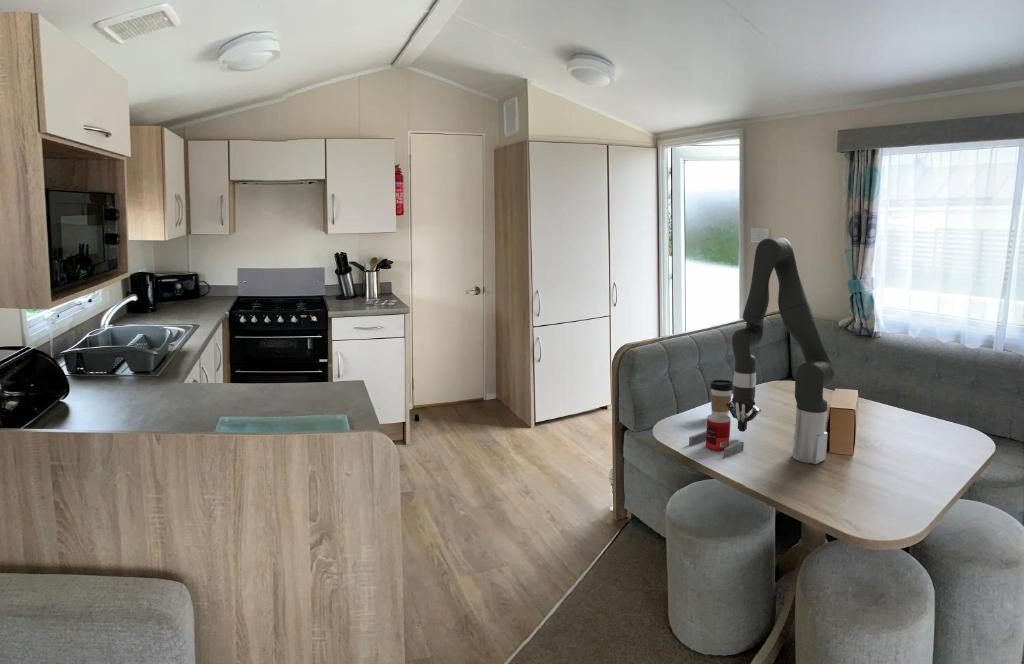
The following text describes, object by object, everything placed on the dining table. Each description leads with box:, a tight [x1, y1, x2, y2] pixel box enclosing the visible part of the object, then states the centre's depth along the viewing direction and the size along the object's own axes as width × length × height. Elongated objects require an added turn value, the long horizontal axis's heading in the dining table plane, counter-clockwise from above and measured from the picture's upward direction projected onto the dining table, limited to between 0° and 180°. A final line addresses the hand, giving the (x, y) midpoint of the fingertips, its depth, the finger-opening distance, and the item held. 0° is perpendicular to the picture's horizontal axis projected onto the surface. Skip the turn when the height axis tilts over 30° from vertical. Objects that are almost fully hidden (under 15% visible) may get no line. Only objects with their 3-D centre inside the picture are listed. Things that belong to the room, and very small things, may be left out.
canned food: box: [705, 413, 732, 452], centre depth 241 cm, size 8×8×11 cm
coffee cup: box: [709, 379, 733, 416], centre depth 270 cm, size 8×8×15 cm
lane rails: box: [688, 430, 745, 459], centre depth 242 cm, size 15×10×3 cm, turn 40°
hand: (742, 430), depth 251 cm, fingers closed
